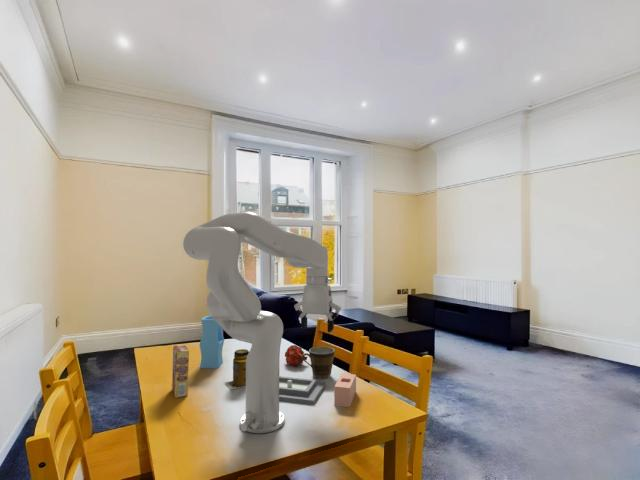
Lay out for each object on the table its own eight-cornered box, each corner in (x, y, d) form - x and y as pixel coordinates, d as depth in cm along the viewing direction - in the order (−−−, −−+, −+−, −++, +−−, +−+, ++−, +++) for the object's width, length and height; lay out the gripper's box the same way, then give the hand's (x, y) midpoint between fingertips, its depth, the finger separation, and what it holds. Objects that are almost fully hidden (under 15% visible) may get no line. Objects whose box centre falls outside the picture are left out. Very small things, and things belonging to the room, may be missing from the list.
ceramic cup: (328, 370, 144) (328, 345, 145) (338, 378, 135) (338, 352, 135) (298, 374, 140) (298, 348, 140) (306, 383, 130) (306, 356, 131)
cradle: (313, 404, 113) (313, 393, 113) (250, 396, 119) (250, 386, 119) (325, 385, 128) (325, 375, 128) (269, 379, 134) (269, 370, 134)
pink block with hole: (349, 407, 111) (349, 388, 111) (334, 405, 112) (334, 386, 112) (355, 392, 123) (356, 374, 123) (341, 390, 124) (341, 373, 124)
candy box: (189, 395, 119) (189, 350, 120) (175, 398, 117) (175, 352, 117) (184, 386, 127) (185, 343, 127) (171, 389, 125) (172, 345, 125)
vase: (218, 368, 146) (218, 319, 147) (199, 368, 147) (199, 319, 147) (223, 361, 154) (224, 315, 155) (205, 361, 154) (206, 315, 155)
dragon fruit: (290, 363, 158) (302, 375, 147) (276, 354, 154) (287, 366, 143) (301, 346, 159) (313, 358, 149) (288, 338, 156) (299, 348, 145)
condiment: (253, 385, 129) (253, 351, 129) (231, 390, 124) (231, 355, 124) (246, 378, 135) (246, 347, 135) (224, 383, 130) (224, 350, 130)
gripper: (343, 281, 124) (344, 330, 124) (299, 279, 130) (299, 325, 130) (336, 283, 117) (337, 335, 117) (289, 281, 123) (290, 330, 123)
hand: (317, 330), depth 124 cm, fingers open, 9 cm apart
